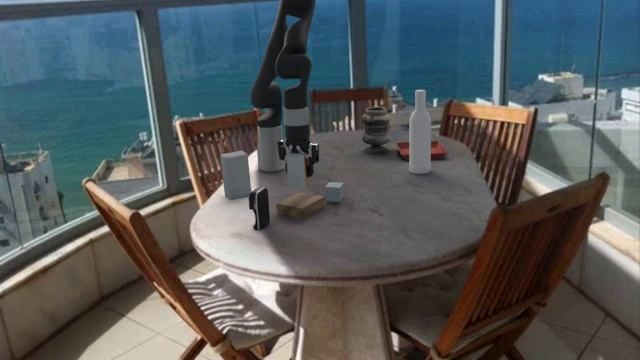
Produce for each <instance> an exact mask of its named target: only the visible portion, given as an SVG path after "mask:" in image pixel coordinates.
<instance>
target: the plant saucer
mask: <svg viewBox="0 0 640 360" xmlns="http://www.w3.org/2000/svg"><path fill="white" fill-rule="evenodd" d="M395 144H396V146H397V149H398V151H399V153H400V155H401V157H402V158H403V160H407V161H408V160H409V141H406V142H405V141H401V142H396V143H395ZM446 154H447V151H446V149H445V147H444V146H443V145H442V144H441V142H440V141H438V140H435V141H434V140H433V141H432V140H431V160H432V159H433V160H435V159H434V158H436V159H442V158H443V157H444V156H445V155H446Z"/></svg>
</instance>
